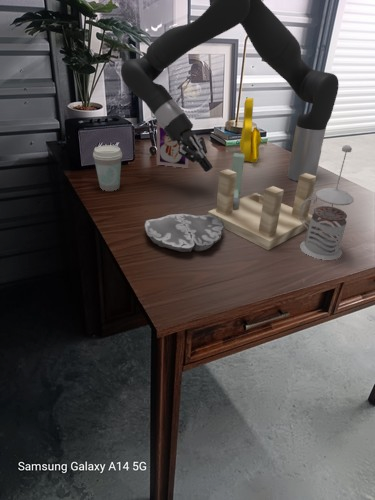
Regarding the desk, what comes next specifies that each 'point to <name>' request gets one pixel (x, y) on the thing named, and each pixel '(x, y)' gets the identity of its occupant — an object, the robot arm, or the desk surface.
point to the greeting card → (168, 150)
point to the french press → (322, 242)
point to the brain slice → (185, 231)
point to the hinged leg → (237, 176)
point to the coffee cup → (108, 166)
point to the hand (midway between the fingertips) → (209, 169)
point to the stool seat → (263, 211)
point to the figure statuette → (249, 135)
